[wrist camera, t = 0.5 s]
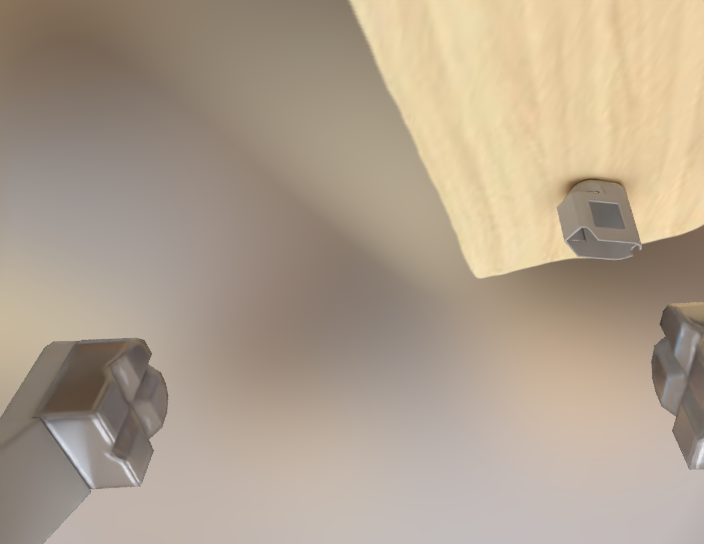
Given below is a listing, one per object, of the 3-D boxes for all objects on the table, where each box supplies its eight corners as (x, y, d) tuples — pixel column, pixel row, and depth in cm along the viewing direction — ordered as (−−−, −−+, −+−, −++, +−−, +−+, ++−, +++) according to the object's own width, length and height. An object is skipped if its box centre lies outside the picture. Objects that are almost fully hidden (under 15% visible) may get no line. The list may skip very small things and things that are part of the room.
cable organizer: (569, 173, 98) (585, 238, 93) (635, 181, 101) (654, 244, 96) (548, 195, 104) (561, 258, 99) (610, 202, 107) (627, 263, 102)
